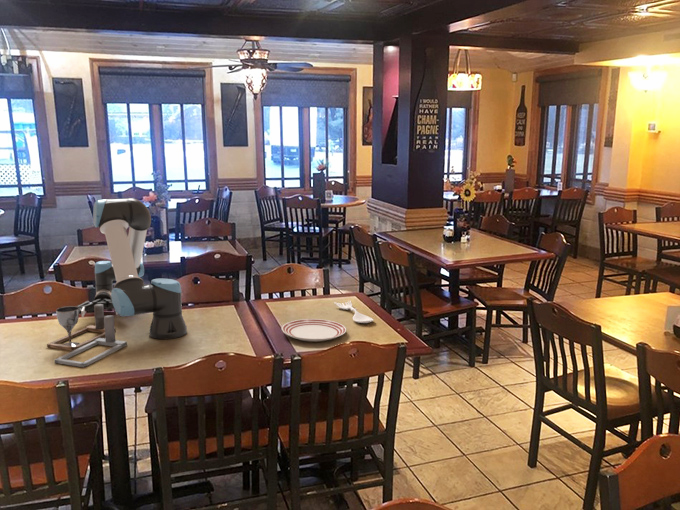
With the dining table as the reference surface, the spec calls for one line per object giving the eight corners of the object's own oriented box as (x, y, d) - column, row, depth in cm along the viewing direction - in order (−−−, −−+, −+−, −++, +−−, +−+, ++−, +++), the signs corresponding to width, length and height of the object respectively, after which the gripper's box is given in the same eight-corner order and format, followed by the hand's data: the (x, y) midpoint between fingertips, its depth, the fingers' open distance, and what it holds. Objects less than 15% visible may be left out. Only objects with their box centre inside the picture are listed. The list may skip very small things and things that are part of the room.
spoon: (350, 305, 291) (350, 299, 290) (377, 325, 262) (377, 317, 261) (333, 307, 288) (333, 300, 287) (358, 327, 259) (358, 319, 258)
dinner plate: (316, 320, 267) (316, 313, 266) (359, 335, 248) (359, 328, 247) (268, 334, 248) (268, 326, 247) (311, 351, 229) (311, 343, 228)
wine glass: (67, 350, 225) (63, 313, 222) (55, 346, 229) (51, 309, 226) (85, 344, 231) (82, 308, 228) (73, 340, 236) (70, 304, 233)
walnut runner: (116, 331, 246) (114, 305, 244) (74, 351, 224) (72, 322, 221) (90, 328, 250) (88, 302, 248) (47, 347, 227) (44, 318, 225)
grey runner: (127, 344, 231) (125, 317, 229) (84, 367, 208) (81, 336, 206) (100, 341, 235) (98, 313, 233) (54, 362, 212) (51, 332, 210)
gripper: (132, 305, 273) (131, 319, 253) (74, 309, 265) (68, 323, 245) (131, 289, 271) (130, 302, 252) (73, 293, 264) (67, 306, 244)
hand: (99, 312), depth 248 cm, fingers open, 13 cm apart
